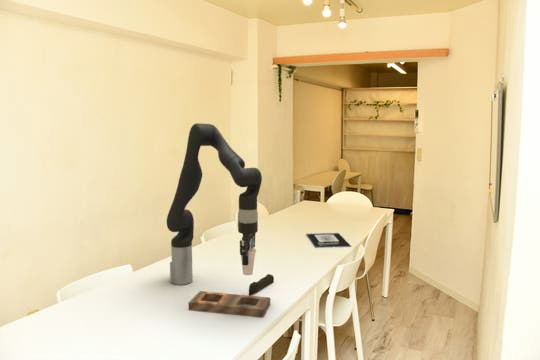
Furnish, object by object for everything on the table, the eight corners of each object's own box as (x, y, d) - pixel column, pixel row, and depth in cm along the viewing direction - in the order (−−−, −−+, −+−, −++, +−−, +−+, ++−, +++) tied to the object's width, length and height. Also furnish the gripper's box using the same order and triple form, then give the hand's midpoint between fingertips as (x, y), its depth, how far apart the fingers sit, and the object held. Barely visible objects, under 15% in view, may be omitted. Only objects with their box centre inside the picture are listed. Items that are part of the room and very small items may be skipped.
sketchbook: (315, 249, 259) (315, 245, 259) (305, 235, 289) (305, 232, 288) (351, 247, 261) (351, 244, 261) (338, 234, 291) (338, 231, 290)
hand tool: (266, 281, 205) (266, 271, 205) (274, 283, 203) (274, 273, 203) (243, 295, 189) (243, 284, 189) (251, 297, 187) (251, 286, 187)
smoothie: (256, 270, 176) (256, 236, 174) (256, 276, 170) (256, 240, 168) (239, 270, 176) (239, 236, 174) (239, 276, 170) (239, 240, 168)
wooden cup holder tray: (188, 309, 174) (188, 301, 174) (200, 297, 186) (200, 290, 185) (263, 317, 167) (263, 309, 167) (270, 304, 179) (270, 297, 179)
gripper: (243, 215, 178) (243, 256, 180) (232, 223, 164) (232, 267, 166) (261, 216, 176) (261, 257, 178) (252, 224, 162) (252, 269, 165)
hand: (247, 262), depth 172 cm, fingers closed on smoothie, 6 cm apart
